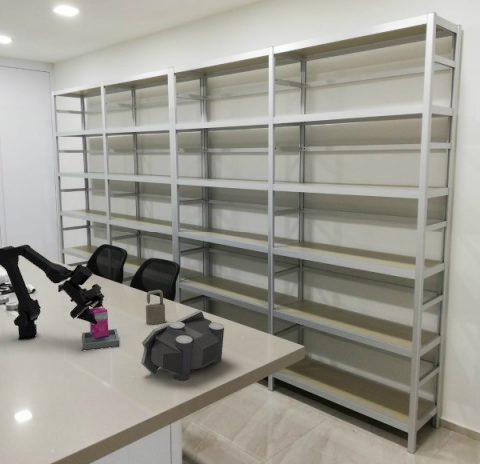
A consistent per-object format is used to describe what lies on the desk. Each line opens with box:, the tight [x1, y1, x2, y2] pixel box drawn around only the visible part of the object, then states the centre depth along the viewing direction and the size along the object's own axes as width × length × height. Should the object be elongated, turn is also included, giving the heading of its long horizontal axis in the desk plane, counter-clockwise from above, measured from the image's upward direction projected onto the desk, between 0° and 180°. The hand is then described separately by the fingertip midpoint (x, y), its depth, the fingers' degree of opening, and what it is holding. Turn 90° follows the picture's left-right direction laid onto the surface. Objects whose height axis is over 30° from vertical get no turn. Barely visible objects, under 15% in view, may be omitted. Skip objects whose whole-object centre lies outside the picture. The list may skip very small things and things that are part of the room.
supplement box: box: [89, 306, 109, 339], centre depth 205 cm, size 6×6×12 cm
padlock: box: [145, 289, 166, 326], centre depth 228 cm, size 4×8×15 cm, turn 116°
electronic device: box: [140, 309, 225, 382], centre depth 180 cm, size 18×21×30 cm
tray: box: [81, 328, 120, 351], centre depth 206 cm, size 14×14×3 cm
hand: (101, 320), depth 204 cm, fingers closed on supplement box, 8 cm apart
